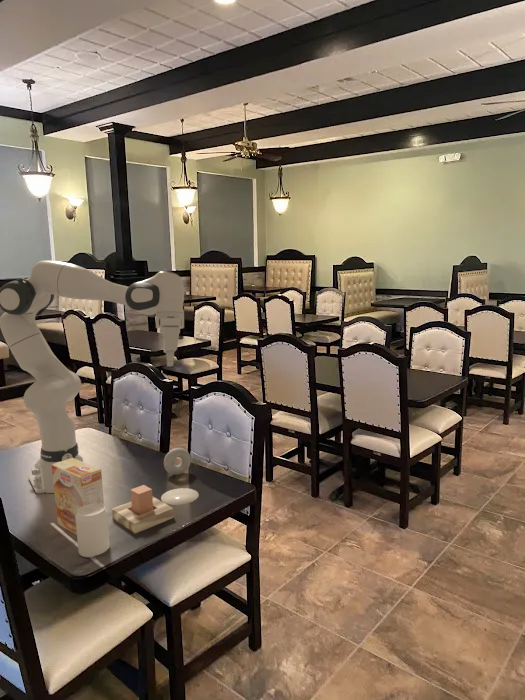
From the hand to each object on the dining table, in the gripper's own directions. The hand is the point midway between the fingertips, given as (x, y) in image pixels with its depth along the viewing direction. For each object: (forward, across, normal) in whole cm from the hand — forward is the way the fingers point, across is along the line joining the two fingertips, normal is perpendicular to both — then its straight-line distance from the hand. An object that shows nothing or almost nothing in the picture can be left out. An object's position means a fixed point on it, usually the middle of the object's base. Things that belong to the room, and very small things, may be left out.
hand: (169, 366), depth 169 cm
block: (+45, +6, -8) cm, 46 cm away
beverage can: (+50, +19, -20) cm, 57 cm away
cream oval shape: (+43, -6, +4) cm, 43 cm away
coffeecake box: (+48, +7, -25) cm, 54 cm away
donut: (+39, -25, +4) cm, 46 cm away
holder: (+46, +6, -8) cm, 47 cm away
